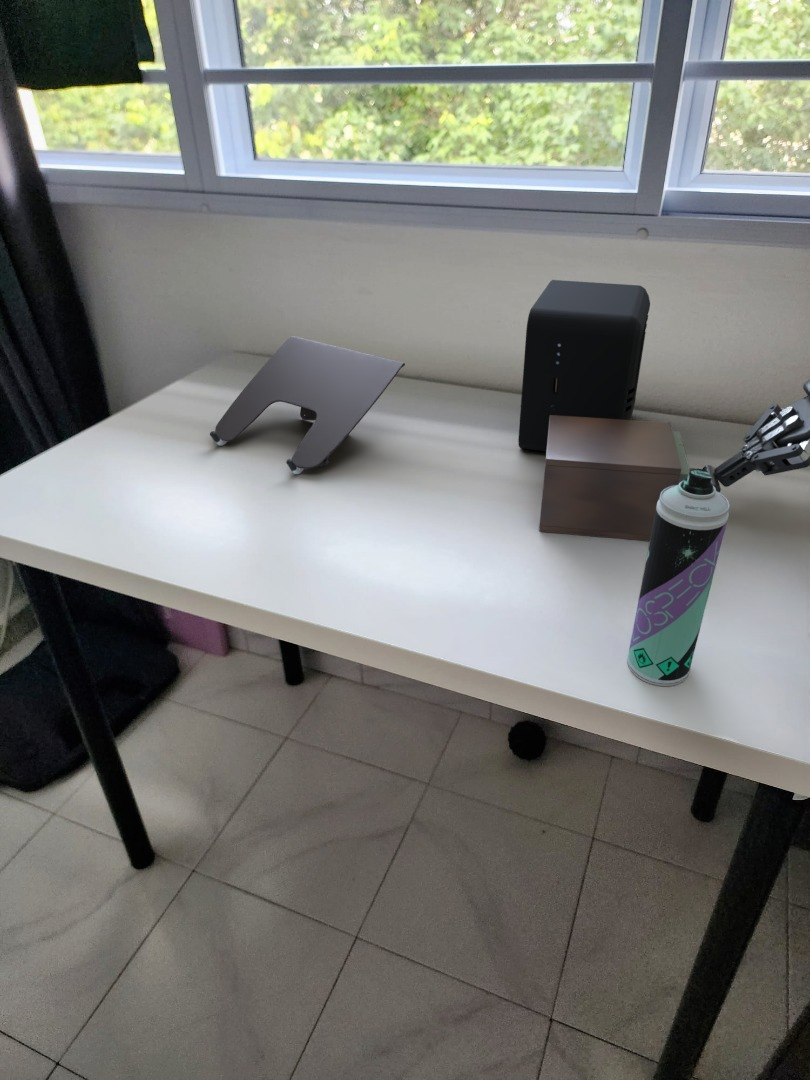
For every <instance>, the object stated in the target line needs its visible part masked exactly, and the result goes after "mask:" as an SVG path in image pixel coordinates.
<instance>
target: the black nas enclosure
mask: <svg viewBox="0 0 810 1080" xmlns="http://www.w3.org/2000/svg"><path fill="white" fill-rule="evenodd" d="M650 307H651V301H650V296H649V293H648V292H647V290H646V288H645V287H643V286H642V285H641V284H640V285H639V284H625V283H624V284H623V283H610V282H609V283H608V282H593V281H592V282H591V281H577V280H564V279H563V280H561V279H550V281H549V283H548V284H547V285H546V286H545V288H544V289H543V291H542V292H541V294H539V296H538V298H537V300H536V301H535V302H534V303H533V305H532V306H531V308H530V309H529V313H528V317H527V322H526V328H525V329H526V330H525V331H526V332H525V344H524V357H523V371H522V373H523V374H522V385H521V400H520V413H519V425H518V426H519V427H518V428H519V429H518V441H517V443H518V447H519V448H520V449H525V450H533V451H540V452H546V450H547V440H548V429H549V418H550V415H557V416H573V417H589V418H606V419H622V420H632V417H633V414H634V413H633V412H634V408H635V405H636V400H637V399H636V397H637V391H638V385H639V384H638V383H639V379H640V371H641V365H642V358H643V352H644V345H645V341H646V333H647V332H646V331H647V327H648V323H647V322H648V320H649V312H650Z"/></svg>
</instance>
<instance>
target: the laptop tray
mask: <svg viewBox="0 0 810 1080" xmlns="http://www.w3.org/2000/svg"><path fill="white" fill-rule="evenodd" d="M405 365H406V362H402V361H398V360H394V359H390V358H386V357H382V356H378V355H374V354H370V353H365V352H361V351H358V350H353V349H349V348H345V347H341V346H337V345H333V344H328V343H324V342H320V341H316V340H311V339H308V338H304V337H299V336H296V335H290V336H288V338H287V339H286V341H284V342H283V344H282V345H281V346H280V347H279V348H278V349H277V350H276V351H275V352H274V353H273V354H272V356H271V357H270V358H269V359H268V360H267V361H266V362H265V364H264V365H263V366H262V367H261V368H260V369H259V371H258V372H257V373H256V374H255V375H254V376H253V378H252V379H250V381H249V382H248V383H247V385H246V386H245V387H244V388H243V389H242V390H241V392H240V393H239V395H237V397H236V398H235V400H233V402H232V403H231V405H230V406H229V407H228V409H227V410H226V411H225V413H223V415H222V417H221V418H220V419H219V421H218V422H217V424H216V425H215V428H214V430H212V431H210V432H209V436H210V437H211V439H212V440H213V441H214V443H216V445H218V446H220V447H221V446H225V445H226V444H227V443H229V442H232V441H234V440H235V439H236V438H238V437H239V436H240V435H241V434H242V433H243V432H244V431H245V430H246V429H247V428H249V427H250V425H252V423H254V422H255V421H256V420H257V419H258V417H260V416H261V415H262V414H263V413H264V411H266V410H267V409H268V408H269V407H270V406H272V405H273V404H275V403H279V402H280V403H286V404H289V405H293V406H295V407H299V408H300V412H299V415H300V418H301V419H302V420H304V421H314V422H313V423H312V424H311V426H310V427H309V428H308V431H307V432H306V434H305V435H304V437H303V438H302V439H301V441H300V442H299V444H298V446H297V448H296V450H295V451H294V453H293V454H292V456H291V458H288V459H287V460H286V461H285V462H286V465H287V466H288V467H289V469H290V471H291V472H292V473H293V474H295V475H299V474H301V473H302V472H303V471H304V470H305V469H315V468H317V467H318V468H322V467H323V466H325V465H328V464H329V462H330V461H329V458H330V455H332V453H334V452H335V450H336V449H337V448H338V447H339V446H340V445H341V444H342V442H343V441H344V440H345V439H346V438H347V437H348V436H349V435H350V433H352V431H353V430H354V429H355V428H356V426H357V425H358V424H359V423H360V422H361V420H363V418H364V417H365V416H366V414H367V413H368V412H369V411H370V410H371V408H372V407H373V406H374V405H375V404H376V402H377V401H378V400H379V399H380V397H381V396H382V394H384V392H385V391H386V390H387V388H388V387H389V385H390V384H391V383H392V382H393V380H394V379H395V377H396V376H397V375H398V373H399V372H400V370H402V368H404V367H405Z"/></svg>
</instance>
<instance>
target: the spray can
mask: <svg viewBox="0 0 810 1080" xmlns="http://www.w3.org/2000/svg"><path fill="white" fill-rule="evenodd" d="M711 479H712V477H711V476H710V474H709V473H708V472H707V471H705V470H703V469H702V468H696V469H691V470H690V472H689V474H688V477H687V479H685V480H683V481H681V482H680V483H679V485H673V486H670V487H667V488H665V489H664V490H663V491H662V492H661V494H660V499H659V500H658V502H657V506H656V512H655V517H654V522H653V527H652V532H651V538H650V541H649V542H648V543H649V544H648V549H647V554H646V558H645V565H644V569H643V575H642V581H641V585H640V591H639V594H638V595H639V596H638V601H637V606H636V611H635V616H634V621H633V627H632V631H631V632H632V633H631V638H630V643H629V647H628V654H627V659H626V660H627V666H628V669H629V670H630V671H631V673H632V674H633V675H634V676H635V677H636V678H638V679H640V680H641V681H643V682H645V683H648V684H650V685H654V686H658V687H672V686H678V685H679V684H682V683H684V681H686V680H687V678H688V676H689V673H690V671H691V667H692V663H693V658H694V655H695V650H696V646H697V642H698V639H699V634H700V631H701V626H702V622H703V619H704V614H705V612H706V606H707V603H708V599H709V595H710V591H711V587H712V583H713V579H714V576H715V572H716V568H717V563H718V561H719V555H720V551H721V547H722V544H723V540H724V536H725V532H726V528H727V523H728V521H729V516H730V511H729V510H730V501H729V500H728V499H727V497H726V496H724V494H722V493H721V492H720V493H719V492H717V491H716V488H715V487H714V486H713V484H712V483H711Z"/></svg>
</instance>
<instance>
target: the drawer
mask: <svg viewBox="0 0 810 1080" xmlns="http://www.w3.org/2000/svg"><path fill="white" fill-rule="evenodd" d="M672 432H673V436H674V440H675V444H676V448H677V453H678V457H679V461H680V465H681V474H680V479H679V483H680V482H681V481H683V480H685V479H687V477H688V474H689V472H690V470H691V469H697V468H694V467H689V463H688V459H687V455H686V451H685V447H684V442H683V439H682V435H681V432H680V431H673V430H672ZM701 469H703V470H705V471H707V472H708V473H709V474H710V476H711V477H712V479H711V483H712V484H713V486H714V487H715V488H716V491H717V492H719V493H720V494H721V491H722V489H721V485H720V482H719V480H718V479H717V478H716V475H715V472H714V470H715V467H714V466H713V465H710V464H707V465H705V466H703V467H702V468H701ZM678 485H679V484H678Z"/></svg>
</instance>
